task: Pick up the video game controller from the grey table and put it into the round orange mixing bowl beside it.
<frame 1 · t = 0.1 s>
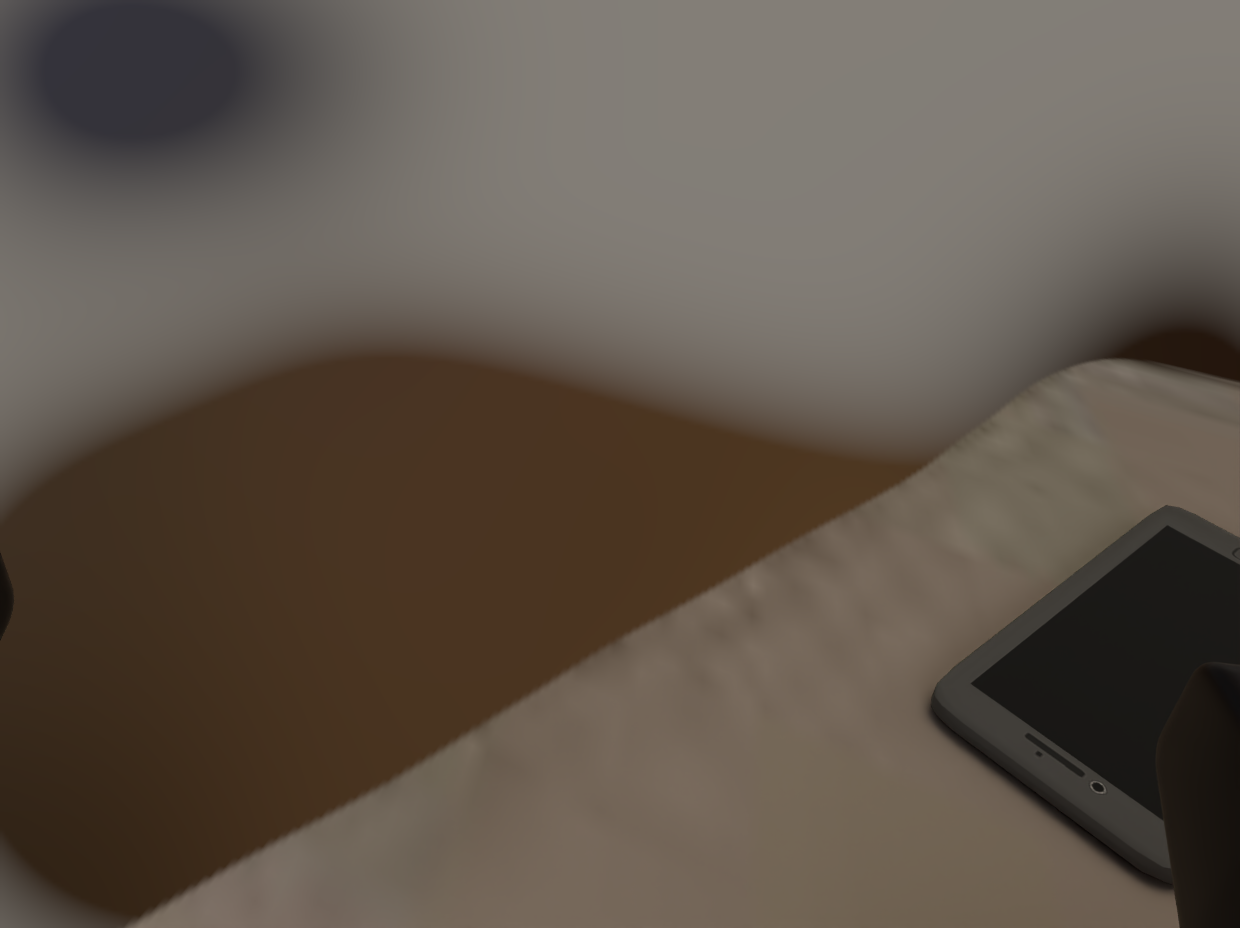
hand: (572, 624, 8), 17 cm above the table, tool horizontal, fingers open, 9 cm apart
cell phone: (1164, 676, 32), on the table
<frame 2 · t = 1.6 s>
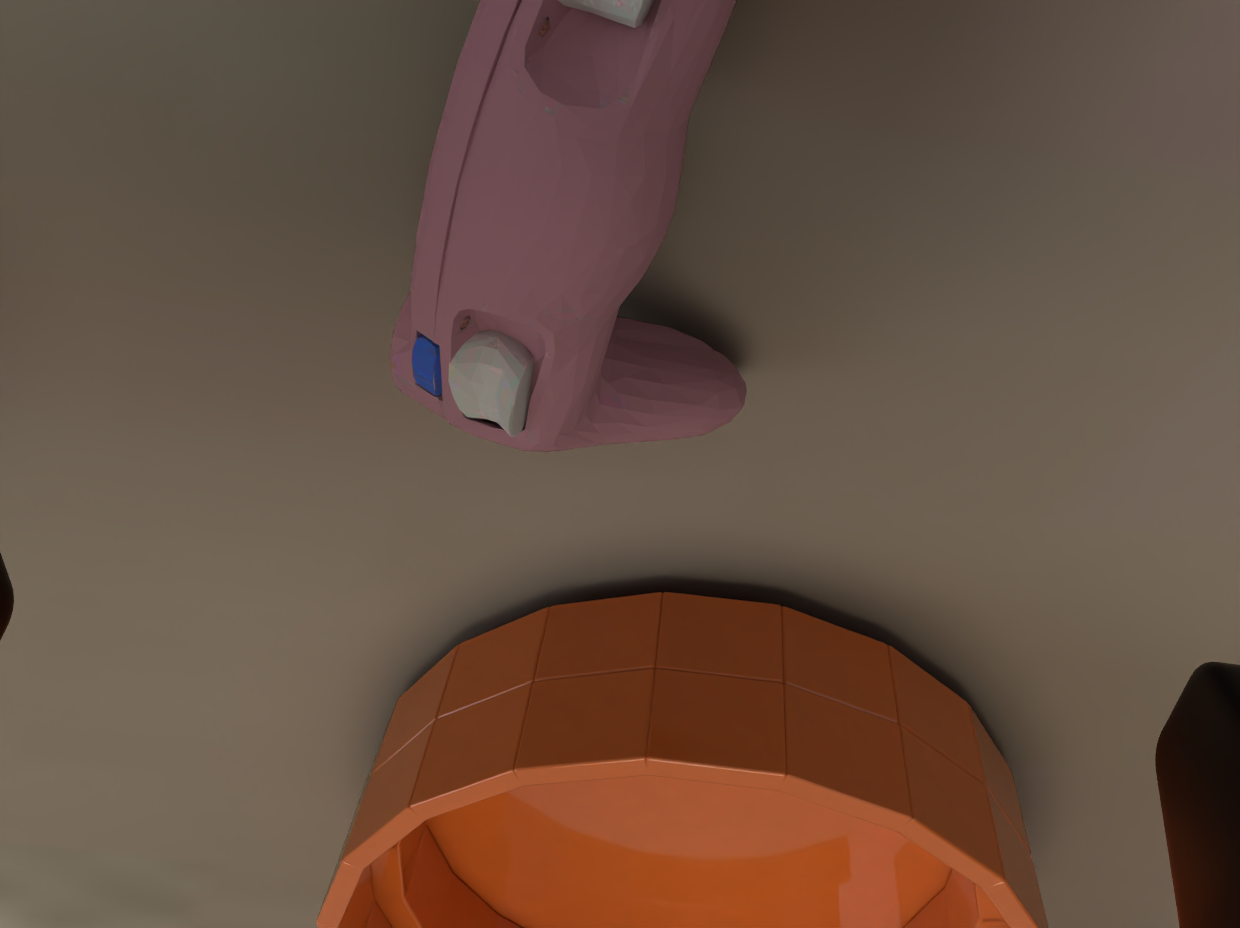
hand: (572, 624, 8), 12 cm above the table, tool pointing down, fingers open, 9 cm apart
orange mixing bowl: (687, 812, 28), on the table
video game controller: (671, 105, 18), on the table
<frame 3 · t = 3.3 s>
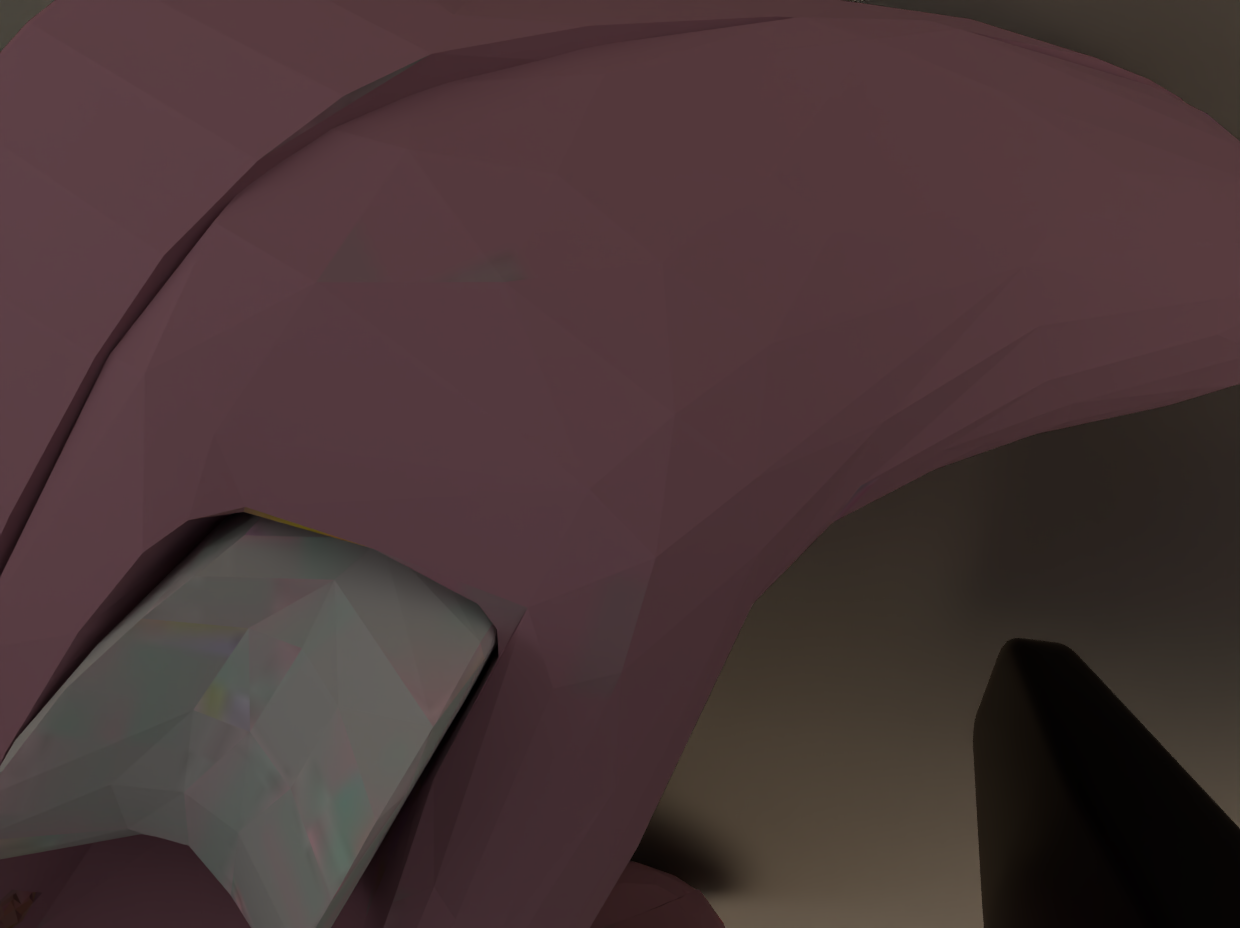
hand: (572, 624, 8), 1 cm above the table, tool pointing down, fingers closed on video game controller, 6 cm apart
video game controller: (593, 522, 9), on the table, touching gripper
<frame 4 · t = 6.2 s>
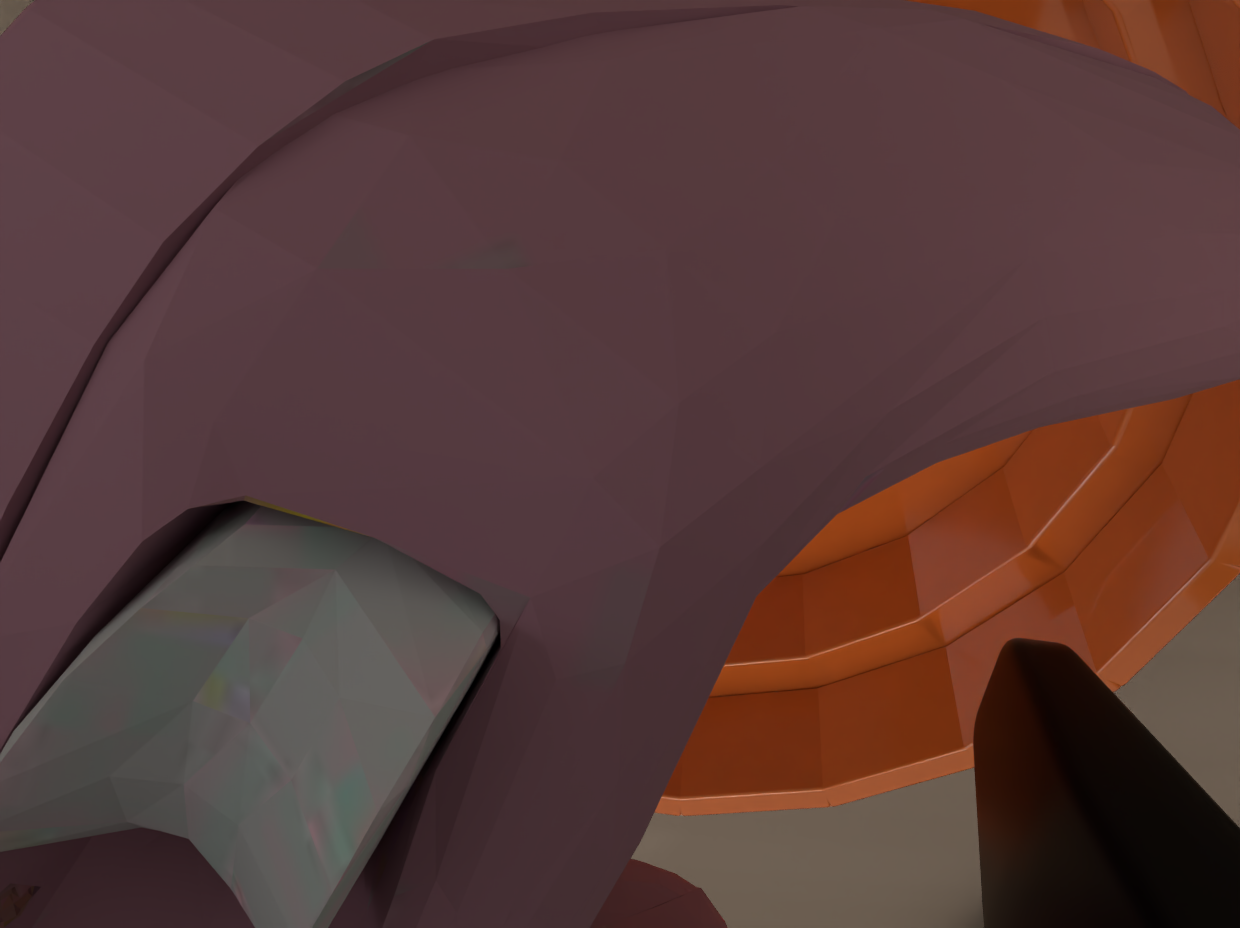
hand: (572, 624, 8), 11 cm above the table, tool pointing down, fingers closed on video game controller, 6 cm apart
orange mixing bowl: (674, 250, 18), on the table
video game controller: (595, 518, 9), point 10 cm above the table, touching gripper
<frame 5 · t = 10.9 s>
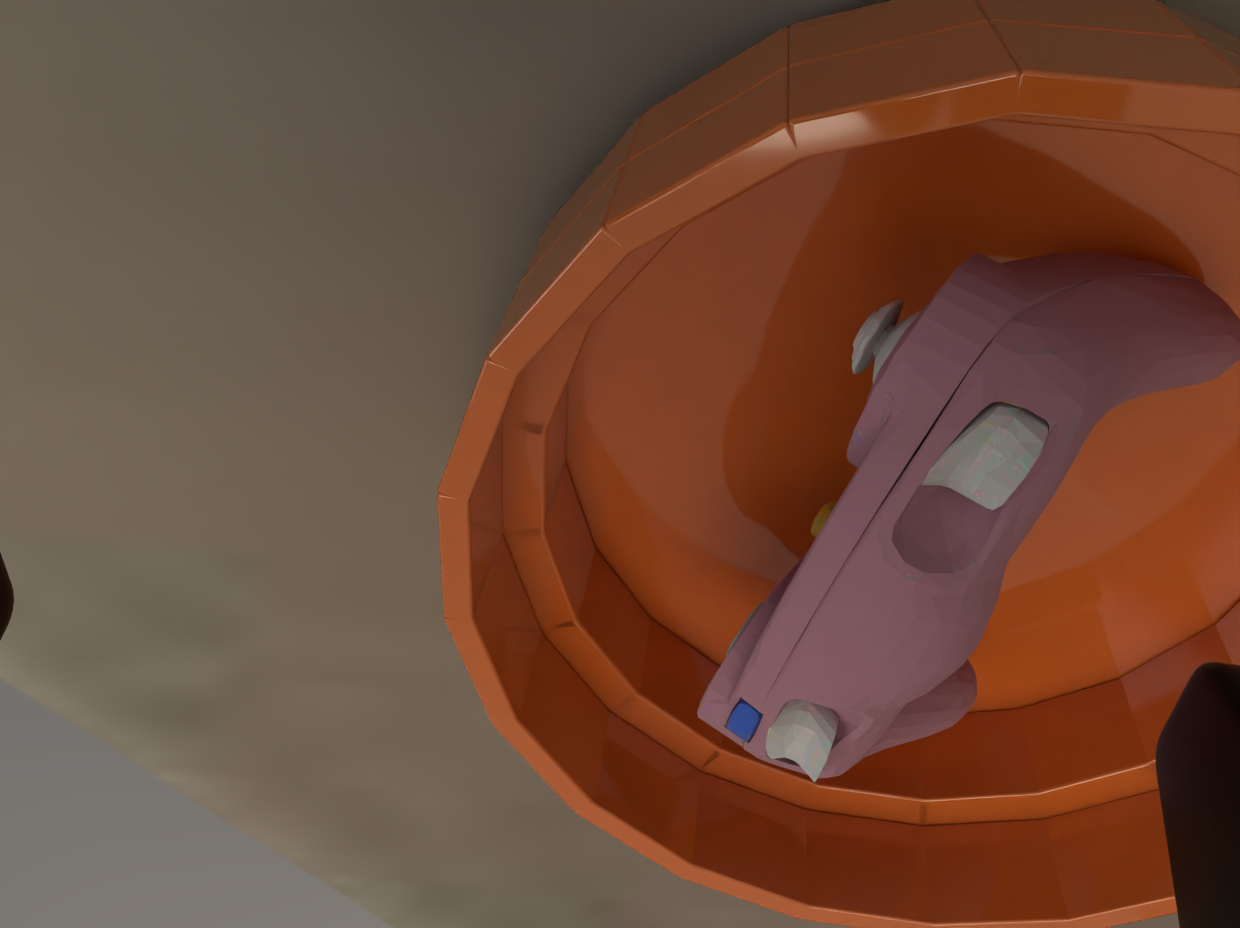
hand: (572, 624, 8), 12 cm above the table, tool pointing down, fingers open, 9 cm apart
orange mixing bowl: (930, 440, 20), on the table
video game controller: (928, 444, 20), resting on orange mixing bowl
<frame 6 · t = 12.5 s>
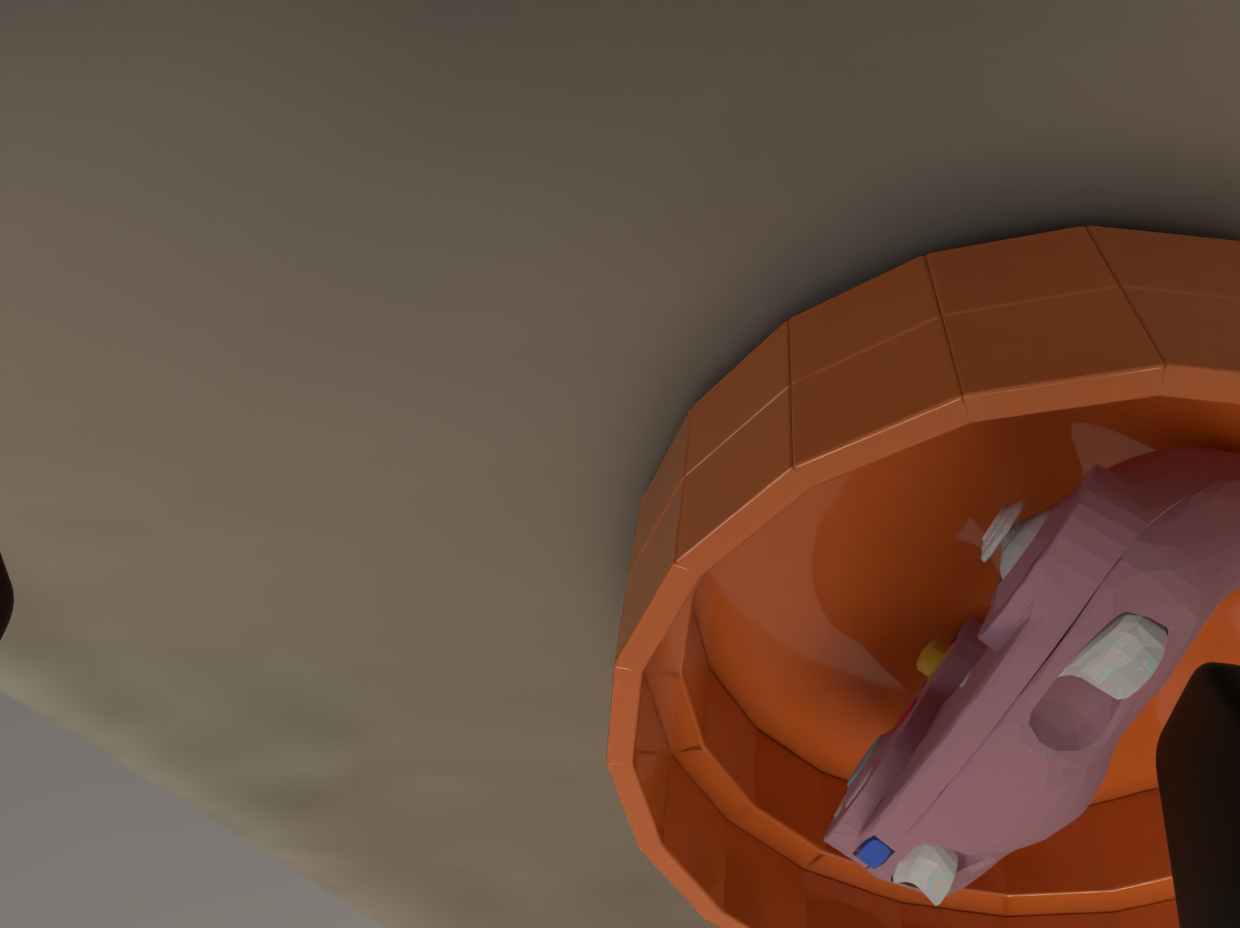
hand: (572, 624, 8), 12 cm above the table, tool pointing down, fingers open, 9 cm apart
orange mixing bowl: (1021, 581, 23), on the table
video game controller: (1020, 587, 22), resting on orange mixing bowl
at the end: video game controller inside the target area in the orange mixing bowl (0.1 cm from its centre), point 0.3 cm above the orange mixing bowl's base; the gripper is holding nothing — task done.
